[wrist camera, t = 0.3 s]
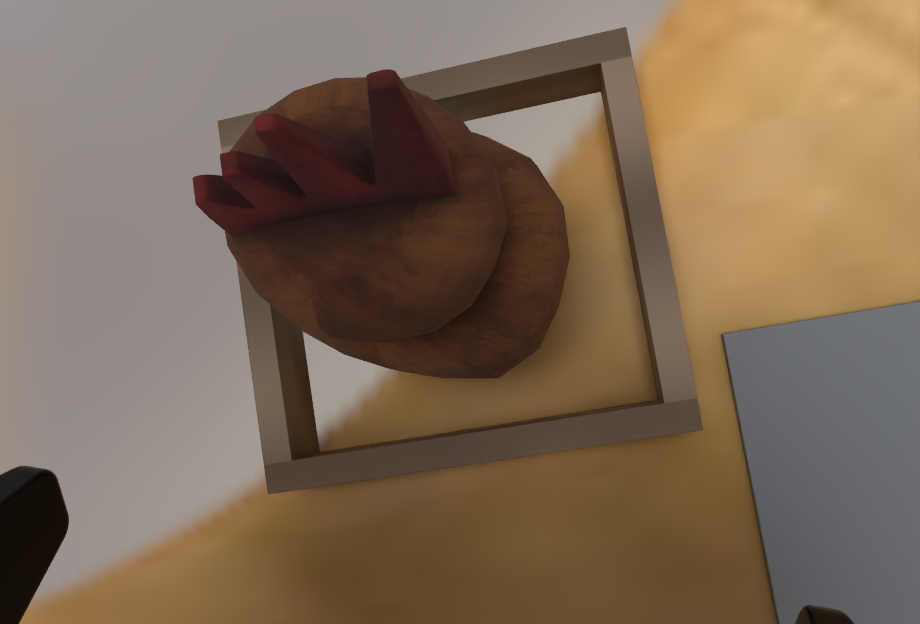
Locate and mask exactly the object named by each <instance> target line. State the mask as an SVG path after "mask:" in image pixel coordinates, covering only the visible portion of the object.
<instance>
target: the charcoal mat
mask: <svg viewBox="0 0 920 624" xmlns="http://www.w3.org/2000/svg"><path fill="white" fill-rule="evenodd" d="M722 340H723V345H724V350H725V355H726V360H727V365H728V370H729V376H730V381H731V386H732V391H733V396H734V401H735V406H736V411H737V417H738V422H739V427H740V432H741V437H742V442H743V447H744V452H745V457H746V463H747V468H748V473H749V478H750V483H751V488H752V493H753V498H754V503H755V509H756V514H757V519H758V524H759V529H760V534H761V539H762V544H763V549H764V555H765V560H766V565H767V570H768V575H769V580H770V585H771V590H772V595H773V601H774V606H775V611H776V616H777V621H778V624H795V622H796V620H797V617H798V615H799V612H800V611H801V609H802V608H803V607H804V606H806V605H815V606H820V607H826V608H832V609H837V610H840V611H842V612H844V613H845V614H846V615H848V616H849V617H850V619H851V620H852V621H853V622H854V624H920V302H914V303H908V304H902V305H896V306H890V307H884V308H878V309H872V310H866V311H860V312H854V313H848V314H842V315H836V316H830V317H824V318H818V319H812V320H805V321H799V322H793V323H787V324H781V325H775V326H769V327H763V328H757V329H751V330H745V331H739V332H733V333H727V334H722Z"/></svg>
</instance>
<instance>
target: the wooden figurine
mask: <svg viewBox="0 0 920 624" xmlns="http://www.w3.org/2000/svg"><path fill="white" fill-rule="evenodd" d="M220 160H221V167H222V175H223V176H218V175H199V176H196V177H194V178H193V186H194V193H195V201H196V205H197V206H198V207H199V208H200V209H201V210H202V211H203V212H204V213H205V214H206V215H207V216H208V217H209V218H210V219H212V220H213V221H214V222H215V223H216V224H218V225H219V226H220V227H221V228H222V229H224V230H225V234H226V239H227V245H228V247H229V249H230V251H231V253H232V254H233V256H234V257H235V259H236V261H237V263H238V264H239V266H240V267H241V269H242V271H243V272H244V274H245V276H246V277H247V279H248V280H249V282H250V284H251V285H252V287H253V288H254V290H255V292H256V293H257V294H258V295H259V296H260V297H262V298H263V299H264V300H265V301H267V302H268V303H269V304H270V305H272V306H273V307H274V308H275V309H277V310H278V311H279V312H280V313H281V314H283V315H284V316H285V317H286V318H288V319H289V320H290V321H292V322H295V323H297V324H299V326H300V327H301V329H302V330H303V332H305V333H307V334H309V335H310V336H312V337H314V338H316V339H318V340H319V341H321V342H323V343H325V344H327V345H328V346H330V347H332V348H334V349H336V350H337V351H339V352H341V353H343V354H345V355H348V356H351V357H354V358H357V359H360V360H363V361H367V362H370V363H373V364H376V365H379V366H382V367H386V368H389V369H393V370H398V371H404V372H410V373H416V374H422V375H427V376H433V377H439V378H499V377H500V376H502V375H503V374H505V373H506V372H507V371H509V370H510V369H511V368H513V367H514V366H516V365H517V364H518V363H520V362H521V361H523V360H524V359H525V358H527V357H528V356H529V355H531V354H532V353H534V352H535V351H536V350H538V349H539V347H540V345H541V343H542V341H543V338H544V336H545V334H546V332H547V330H548V328H549V326H550V324H551V321H552V319H553V317H554V315H555V313H556V311H557V309H558V307H559V302H560V298H561V293H562V289H563V284H564V279H565V275H566V270H567V266H568V261H569V257H570V255H569V247H568V239H567V231H566V223H565V215H564V207H563V205H562V203H561V202H560V200H559V198H558V197H557V195H556V194H555V192H554V191H553V190H552V188H551V187H550V185H549V184H548V182H547V181H546V179H545V177H544V176H543V174H542V173H541V171H540V170H539V168H538V167H537V165H536V164H535V163H534V162H533V161H532V159H531V158H529V157H527V156H525V155H523V154H521V153H519V152H517V151H515V150H513V149H511V148H508V147H506V146H504V145H502V144H500V143H498V142H496V141H494V140H492V139H490V138H488V137H485V136H482V135H479V134H476V133H473V132H471V131H470V130H469V129H468V127H467V126H466V125H465V124H464V122H463V121H461V120H460V119H459V118H457V117H456V116H454V115H453V114H452V113H450V112H449V111H448V110H446V109H445V108H444V107H442V106H441V105H439V104H438V103H437V102H435V101H434V100H433V99H431V98H430V97H428V96H426V95H424V94H421V93H418V92H416V91H413V90H410V89H408V88H407V87H406V86H405V84H404V83H403V82H402V80H401V79H400V77H399V76H398V75H397V73H396V72H395V71H393V70H381V71H377V72H373V73H370V74H369V75H367V77H364V78H335V79H331V80H328V81H325V82H322V83H318V84H315V85H312V86H309V87H305V88H302V89H299V90H296V91H293V92H292V93H291V94H289V95H288V96H286V97H285V98H283V99H282V100H280V101H279V102H277V103H276V104H274V105H273V106H271V107H270V108H268V109H267V110H265V111H264V112H262V113H261V114H260V115H258V116H257V117H255V118H254V121H253V122H252V123H251V125H250V126H249V127H248V128H247V130H246V131H245V132H244V133H243V135H242V136H241V137H240V139H239V140H238V141H237V142H236V144H235V145H234V146H233V147H232V149H231V150H230V151H229V152H226V153H222V154H220Z"/></svg>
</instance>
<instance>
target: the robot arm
mask: <svg viewBox="0 0 920 624" xmlns="http://www.w3.org/2000/svg"><path fill="white" fill-rule="evenodd" d="M68 524H69V516H68V512H67V509H66V505H65V502H64V499H63V495H62V492H61V489H60V486H59V483H58V479H57V477H56V475H55V474H54V473H53V472H52V471H50V470H47V469H41V468H35V467H29V466H19V467H16V468H14V469H11V470H9V471H8V472H5V473H4V474H1V475H0V624H19V623H20V621H21V619H22V617H23V615H24V613H25V611H26V609H27V608H28V606H29V604H30V602H31V600H32V598H33V596H34V594H35V592H36V591H37V589H38V587H39V585H40V583H41V581H42V579H43V577H44V575H45V573H46V571H47V570H48V568H49V566H50V564H51V562H52V560H53V558H54V557H55V555H56V553H57V551H58V549H59V547H60V545H61V543H62V541H63V540H64V537H65V535H66V533H67V529H68ZM795 624H854V622H853V621H852V620H851V619H850V617H849V616H848V615H846V614H845V613H844V612H842V611H840V610H837V609H832V608H826V607H820V606H815V605H806V606H804V607H803V608H802V609H801V611H800V612H799V615H798V617H797V620H796V622H795Z"/></svg>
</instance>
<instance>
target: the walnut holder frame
mask: <svg viewBox="0 0 920 624" xmlns="http://www.w3.org/2000/svg"><path fill="white" fill-rule="evenodd" d="M401 80H402V82H403V83H404V84H405V86H406V87H407V88H408V89H410V90H413V91H416V92H418V93H421V94H424V95H426V96H428V97H430V98H431V99H433V100H434V101H435V102H437V103H438V104H439V105H441V106H442V107H444V108H445V109H446V110H448V111H449V112H450V113H452V114H453V115H454V116H456V117H457V118H459V119H460V120H461V121H463V122H464V121H468V120H473V119H477V118H482V117H487V116H491V115H496V114H500V113H505V112H510V111H514V110H519V109H523V108H528V107H532V106H537V105H542V104H546V103H551V102H555V101H560V100H564V99H569V98H574V97H578V96H582V95H587V94H592V93H597V92H601V94H602V100H603V105H604V110H605V116H606V121H607V126H608V132H609V137H610V143H611V148H612V153H613V159H614V164H615V169H616V175H617V180H618V186H619V191H620V196H621V202H622V207H623V213H624V218H625V223H626V229H627V234H628V239H629V245H630V250H631V256H632V261H633V266H634V272H635V277H636V282H637V288H638V293H639V299H640V304H641V309H642V315H643V320H644V325H645V331H646V336H647V342H648V347H649V352H650V358H651V363H652V368H653V374H654V379H655V385H656V390H657V395H658V400H654V401H648V402H641V403H635V404H628V405H622V406H616V407H609V408H603V409H596V410H590V411H583V412H577V413H570V414H564V415H557V416H551V417H545V418H538V419H532V420H525V421H519V422H512V423H506V424H499V425H493V426H487V427H480V428H474V429H467V430H461V431H454V432H448V433H441V434H435V435H428V436H422V437H416V438H409V439H403V440H396V441H390V442H383V443H377V444H370V445H364V446H357V447H351V448H345V449H338V450H332V451H325V452H320V451H319V444H318V437H317V430H316V423H315V416H314V409H313V402H312V395H311V388H310V381H309V375H308V367H307V360H306V353H305V346H304V339H303V332H302V329H301V327H300V326H299V324H297V323H295V322H292V321H290V320H289V319H288V318H286V317H285V316H284V315H283V314H281V313H280V312H279V311H278V310H277V309H275V308H274V307H273V306H272V305H270V304H269V303H268V302H267V301H265V300H264V299H263V298H262V297H260V296H259V295H258V294H257V293H256V292H255V290H254V288H253V287H252V285H251V284H250V282H249V280H248V279H247V277H246V276H245V274H244V272H243V271H242V269H241V267H240V266H239V264H238V263H237V267H238V275H239V283H240V291H241V298H242V305H243V313H244V320H245V328H246V335H247V342H248V350H249V357H250V365H251V372H252V379H253V387H254V394H255V402H256V409H257V416H258V423H259V431H260V439H261V445H262V453H263V461H264V468H265V476H266V483H267V490H268V494H273V493H280V492H287V491H293V490H300V489H307V488H314V487H320V486H327V485H334V484H341V483H348V482H354V481H361V480H368V479H375V478H381V477H388V476H395V475H402V474H408V473H415V472H422V471H429V470H436V469H442V468H449V467H456V466H463V465H469V464H476V463H483V462H490V461H496V460H503V459H510V458H517V457H524V456H530V455H537V454H544V453H551V452H557V451H564V450H571V449H578V448H584V447H591V446H598V445H605V444H612V443H618V442H625V441H632V440H639V439H645V438H652V437H659V436H666V435H672V434H679V433H686V432H693V431H700V430H703V427H702V422H701V417H700V412H699V406H698V401H697V396H696V391H695V386H694V380H693V375H692V370H691V365H690V359H689V354H688V349H687V344H686V338H685V333H684V328H683V323H682V317H681V312H680V307H679V302H678V296H677V291H676V286H675V281H674V275H673V270H672V265H671V260H670V255H669V249H668V244H667V239H666V234H665V228H664V223H663V218H662V213H661V207H660V202H659V197H658V192H657V186H656V181H655V176H654V171H653V165H652V160H651V155H650V150H649V145H648V139H647V134H646V129H645V124H644V118H643V113H642V108H641V103H640V97H639V92H638V87H637V82H636V76H635V71H634V66H633V61H632V55H631V50H630V45H629V40H628V35H627V29H626V27H624V28H619V29H615V30H611V31H606V32H602V33H597V34H594V35H589V36H584V37H581V38H576V39H571V40H567V41H563V42H558V43H554V44H550V45H545V46H541V47H537V48H532V49H528V50H524V51H519V52H515V53H511V54H506V55H502V56H498V57H493V58H489V59H485V60H480V61H476V62H472V63H468V64H463V65H459V66H455V67H450V68H446V69H441V70H437V71H433V72H429V73H424V74H420V75H415V76H411V77H406V78H402V79H401ZM264 111H265V110H263V111H259V112H255V113H251V114H246V115H242V116H237V117H233V118H229V119H224V120H220V121H218V128H219V135H220V142H221V150H222V153H226V152H229V151H230V150H231V149H232V147H233V146H234V145H235V144H236V142H237V141H238V140H239V139H240V137H241V136H242V135H243V133H244V132H245V131H246V130H247V128H248V127H249V126H250V125H251V123H252V122H253V121H254V118H255V117H257V116H258V115H260V114H261V113H262V112H264Z"/></svg>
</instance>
